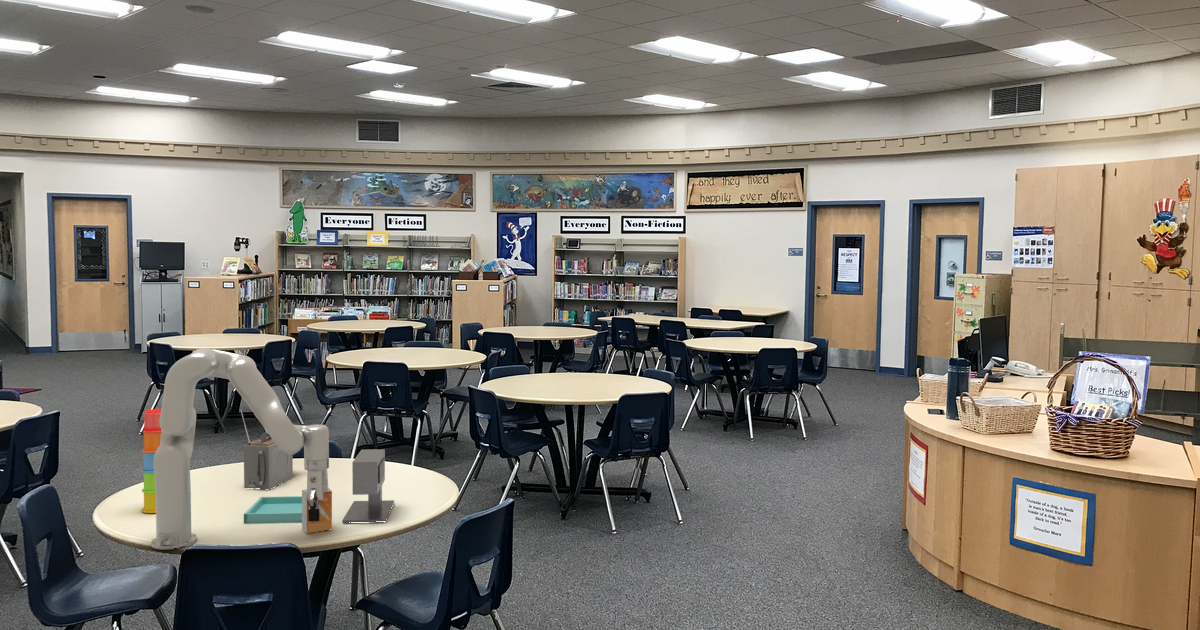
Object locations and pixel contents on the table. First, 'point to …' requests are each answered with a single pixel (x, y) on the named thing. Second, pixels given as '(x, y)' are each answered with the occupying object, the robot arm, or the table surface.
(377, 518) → the mounted unit
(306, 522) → the small box
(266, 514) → the teal tray
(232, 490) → the table surface
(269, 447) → the grey portable radio
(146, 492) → the stacking cups
